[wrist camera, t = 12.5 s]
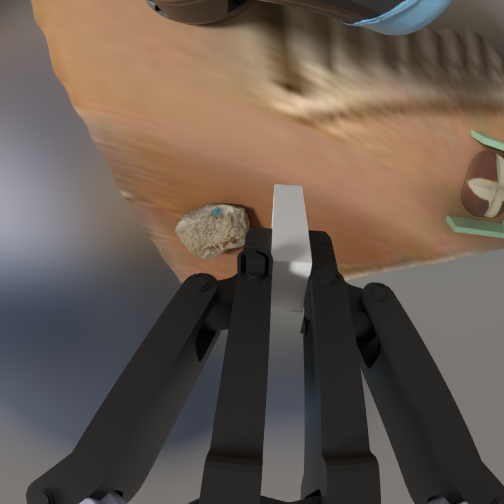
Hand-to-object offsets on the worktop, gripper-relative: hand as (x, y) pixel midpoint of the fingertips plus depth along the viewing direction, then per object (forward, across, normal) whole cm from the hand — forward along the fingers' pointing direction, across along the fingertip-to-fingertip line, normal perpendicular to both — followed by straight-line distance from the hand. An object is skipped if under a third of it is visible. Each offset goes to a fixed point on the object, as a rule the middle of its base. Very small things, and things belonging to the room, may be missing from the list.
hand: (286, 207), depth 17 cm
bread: (+25, +35, -5) cm, 43 cm away
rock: (+25, -9, -17) cm, 31 cm away
